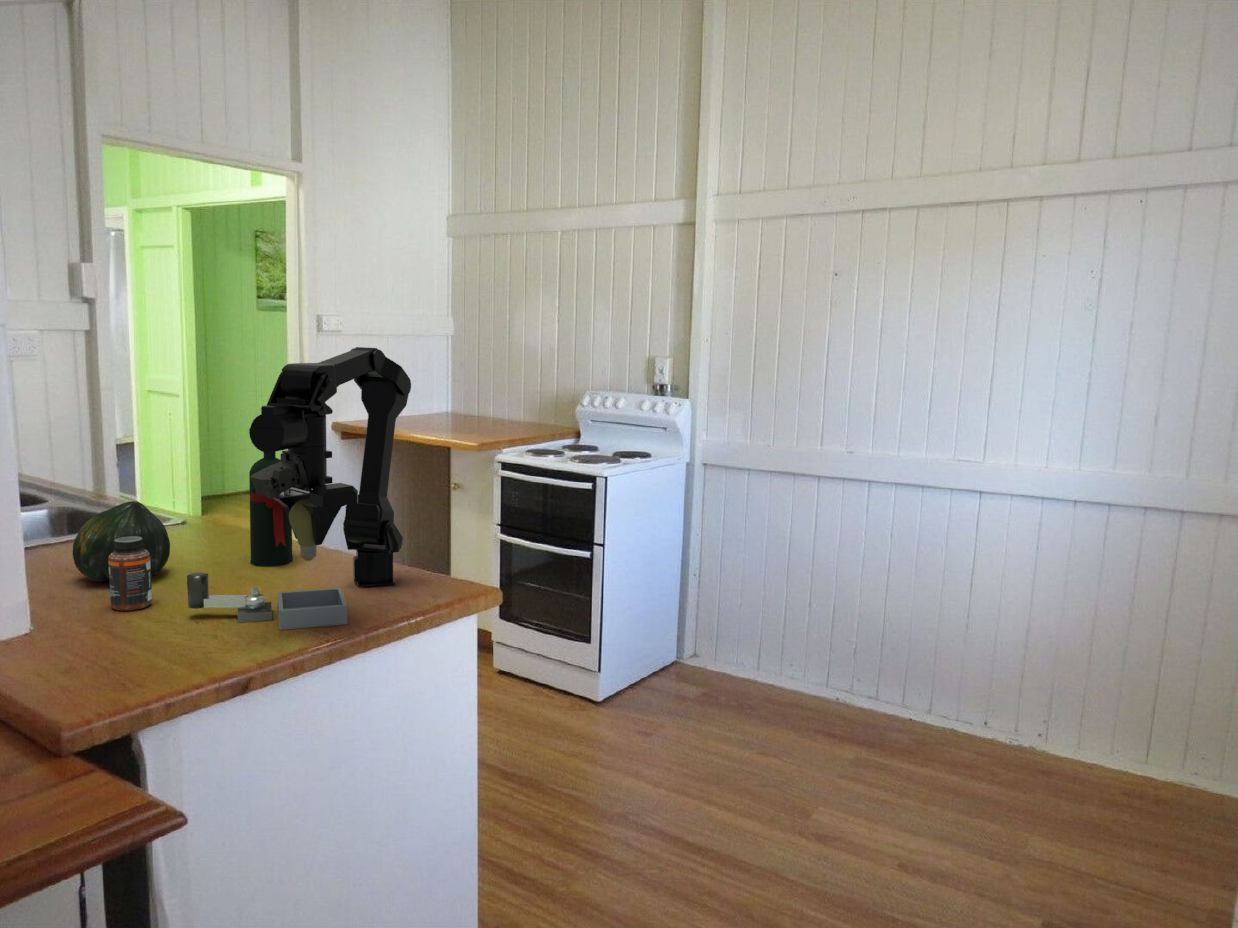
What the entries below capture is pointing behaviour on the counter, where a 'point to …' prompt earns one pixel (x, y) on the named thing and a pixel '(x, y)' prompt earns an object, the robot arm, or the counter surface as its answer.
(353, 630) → the counter surface
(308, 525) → the light bulb
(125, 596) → the supplement bottle
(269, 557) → the wine bottle
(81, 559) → the squash
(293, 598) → the tray
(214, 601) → the crank
